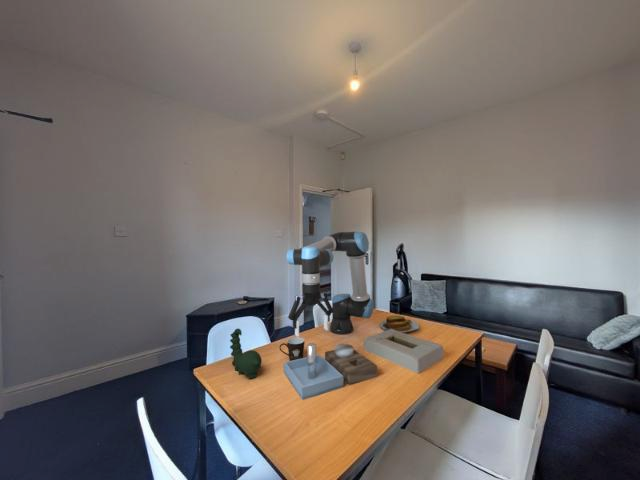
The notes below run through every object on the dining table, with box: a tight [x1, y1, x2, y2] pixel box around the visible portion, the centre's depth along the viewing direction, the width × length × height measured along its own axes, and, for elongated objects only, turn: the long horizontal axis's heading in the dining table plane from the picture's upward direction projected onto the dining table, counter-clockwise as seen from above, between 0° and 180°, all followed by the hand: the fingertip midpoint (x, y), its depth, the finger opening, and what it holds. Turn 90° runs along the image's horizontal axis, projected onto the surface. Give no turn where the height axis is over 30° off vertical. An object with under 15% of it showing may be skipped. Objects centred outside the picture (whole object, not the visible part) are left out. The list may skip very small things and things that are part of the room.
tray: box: [283, 354, 344, 401], centre depth 111 cm, size 22×18×4 cm
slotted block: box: [363, 329, 444, 374], centre depth 134 cm, size 23×8×32 cm
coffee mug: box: [279, 336, 306, 361], centre depth 129 cm, size 12×9×10 cm
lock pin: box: [306, 342, 317, 379], centre depth 111 cm, size 4×4×14 cm
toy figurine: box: [229, 328, 262, 380], centre depth 118 cm, size 9×19×25 cm
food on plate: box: [379, 315, 421, 334], centre depth 173 cm, size 25×25×7 cm
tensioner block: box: [324, 343, 378, 386], centre depth 120 cm, size 22×14×8 cm, turn 26°
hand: (311, 332), depth 112 cm, fingers open, 13 cm apart
